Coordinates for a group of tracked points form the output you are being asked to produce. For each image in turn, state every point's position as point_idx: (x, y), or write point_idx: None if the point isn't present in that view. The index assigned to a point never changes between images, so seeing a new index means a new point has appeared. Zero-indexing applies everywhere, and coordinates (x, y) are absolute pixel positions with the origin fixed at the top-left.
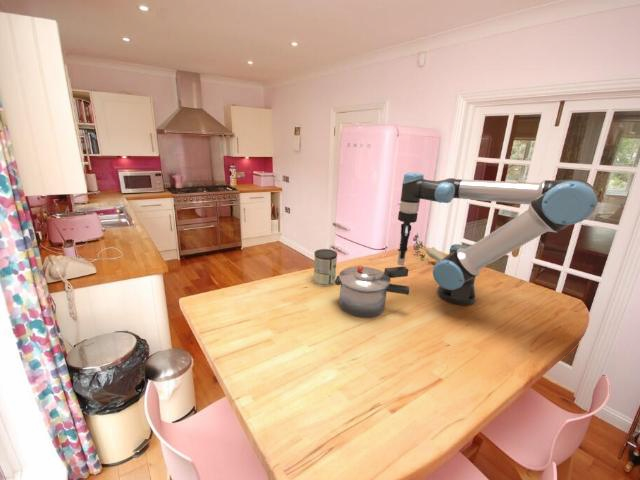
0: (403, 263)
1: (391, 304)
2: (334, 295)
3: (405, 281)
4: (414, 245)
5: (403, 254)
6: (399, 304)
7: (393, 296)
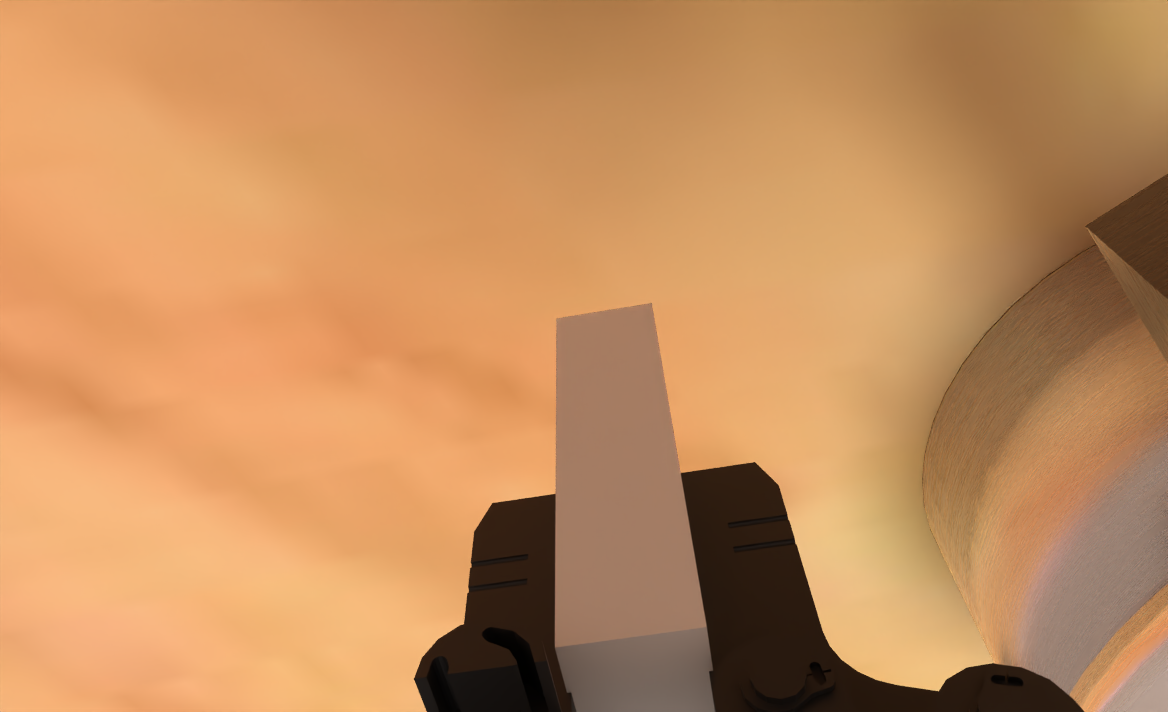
0: (657, 347)
1: (1099, 123)
2: None
3: (182, 45)
4: None
5: (803, 592)
6: (1072, 11)
7: (840, 140)
